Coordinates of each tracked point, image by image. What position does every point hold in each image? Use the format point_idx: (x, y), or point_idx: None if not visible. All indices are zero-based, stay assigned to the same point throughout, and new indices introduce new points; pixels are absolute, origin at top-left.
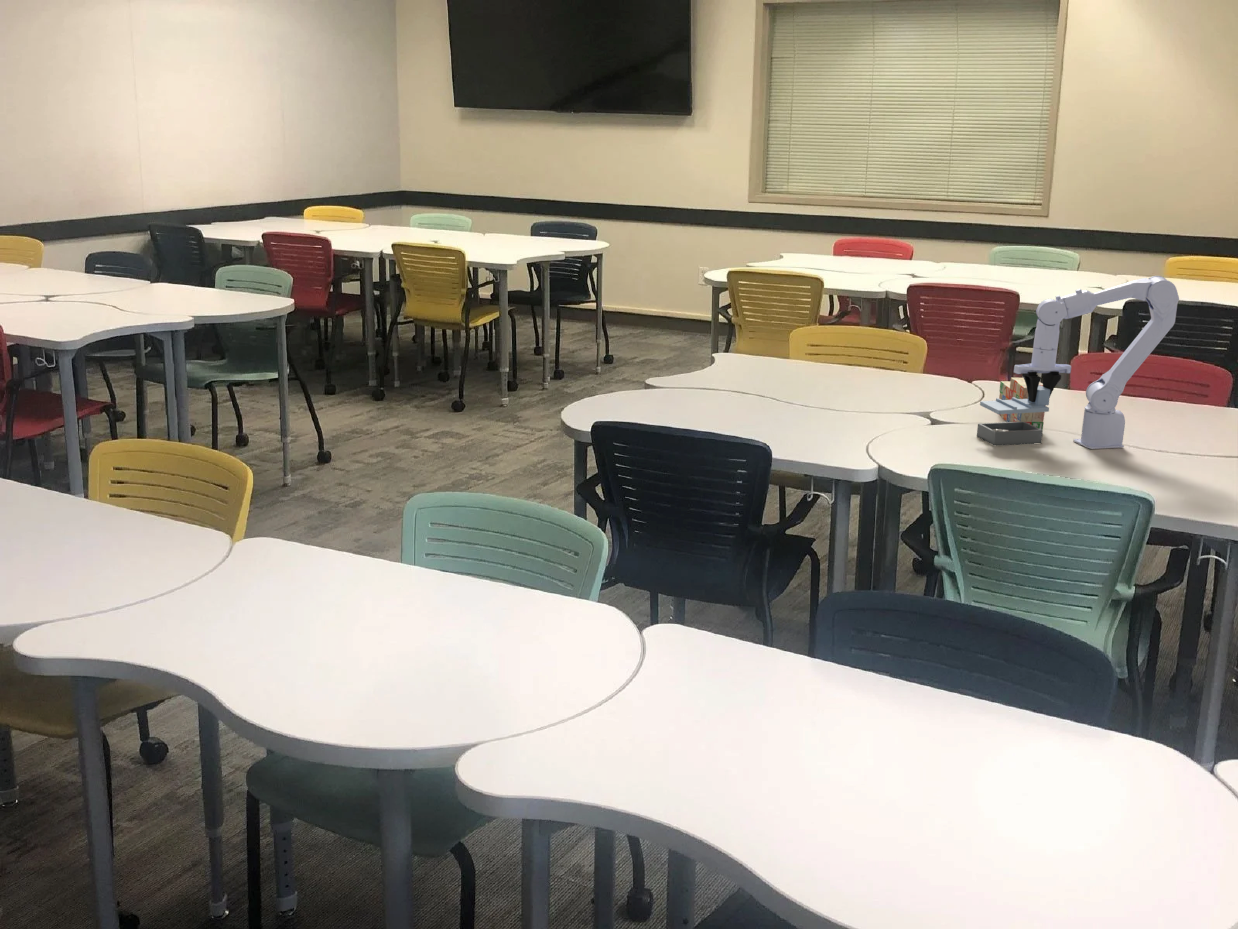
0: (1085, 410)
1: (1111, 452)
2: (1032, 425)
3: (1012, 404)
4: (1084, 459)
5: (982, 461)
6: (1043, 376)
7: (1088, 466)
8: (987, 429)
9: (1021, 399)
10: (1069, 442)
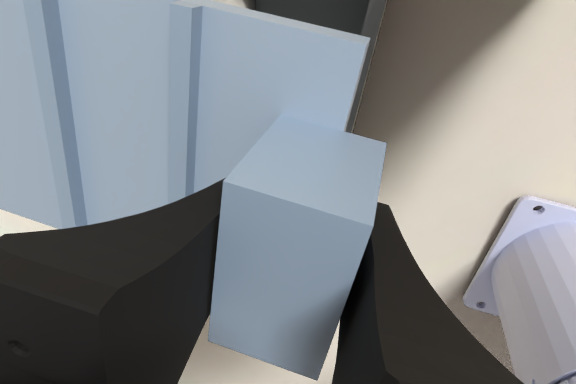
0: (559, 379)
1: (503, 348)
2: (362, 86)
3: (113, 139)
4: (333, 343)
5: (29, 222)
6: (371, 361)
7: (288, 377)
8: None
9: (271, 35)
10: (492, 193)
